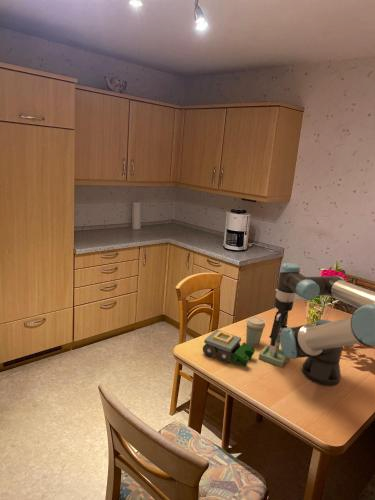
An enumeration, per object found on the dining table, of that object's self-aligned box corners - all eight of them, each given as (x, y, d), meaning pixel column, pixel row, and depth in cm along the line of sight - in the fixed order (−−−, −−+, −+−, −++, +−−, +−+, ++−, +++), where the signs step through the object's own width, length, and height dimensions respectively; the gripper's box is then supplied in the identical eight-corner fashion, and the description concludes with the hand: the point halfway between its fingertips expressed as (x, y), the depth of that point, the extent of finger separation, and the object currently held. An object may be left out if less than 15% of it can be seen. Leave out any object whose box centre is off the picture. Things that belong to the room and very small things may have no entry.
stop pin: (279, 356, 164) (284, 331, 161) (276, 360, 160) (281, 335, 157) (270, 353, 166) (274, 328, 163) (267, 357, 162) (272, 332, 159)
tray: (288, 357, 165) (289, 352, 165) (282, 367, 157) (283, 362, 156) (265, 349, 170) (266, 344, 169) (258, 359, 161) (259, 354, 161)
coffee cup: (253, 350, 168) (257, 326, 165) (239, 342, 174) (243, 318, 171) (265, 345, 174) (269, 322, 170) (251, 337, 180) (254, 314, 176)
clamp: (240, 375, 156) (245, 364, 150) (228, 367, 158) (232, 355, 152) (253, 355, 164) (258, 343, 157) (242, 348, 166) (246, 336, 160)
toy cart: (239, 353, 164) (242, 335, 162) (229, 365, 154) (232, 347, 152) (213, 343, 170) (215, 326, 168) (201, 354, 160) (203, 336, 158)
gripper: (283, 289, 167) (275, 333, 173) (267, 305, 148) (259, 354, 154) (299, 293, 164) (291, 338, 170) (286, 310, 144) (276, 360, 150)
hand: (275, 346), depth 162 cm, fingers open, 10 cm apart
